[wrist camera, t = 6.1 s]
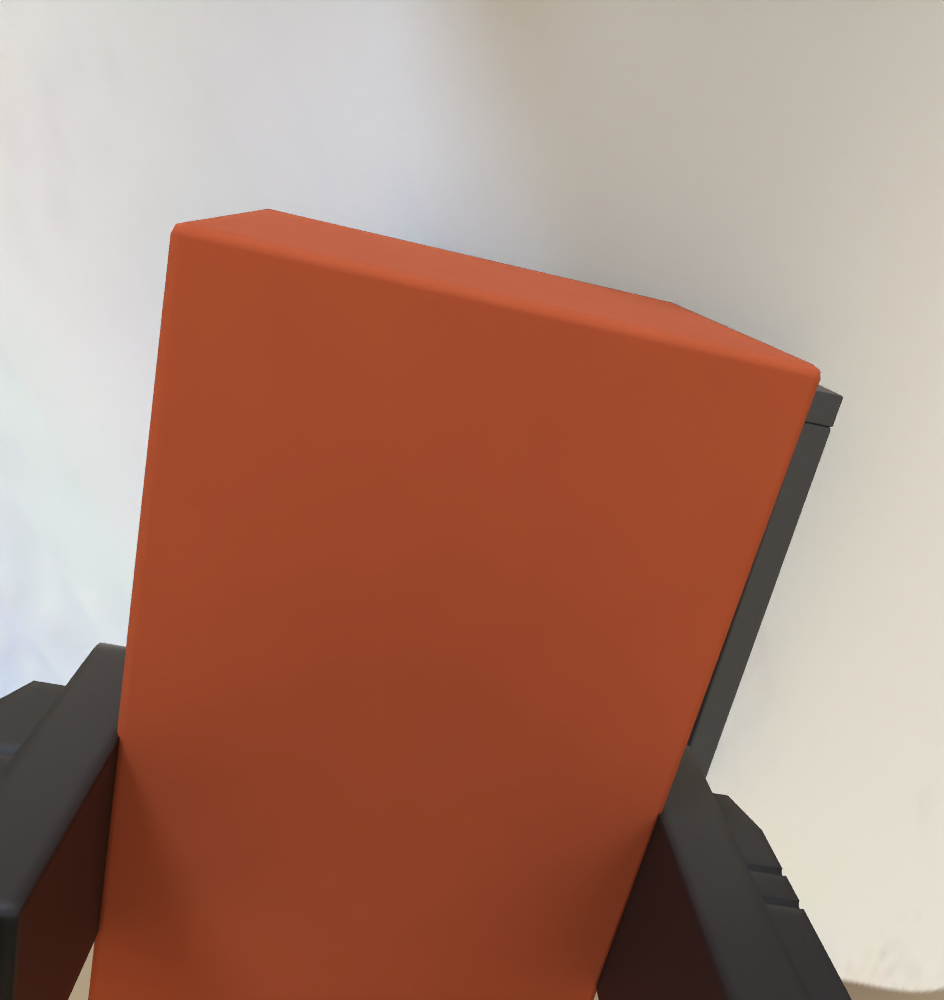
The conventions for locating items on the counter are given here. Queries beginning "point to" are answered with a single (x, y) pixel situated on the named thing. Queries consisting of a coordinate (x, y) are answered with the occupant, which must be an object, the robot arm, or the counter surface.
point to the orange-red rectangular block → (417, 614)
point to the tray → (762, 577)
